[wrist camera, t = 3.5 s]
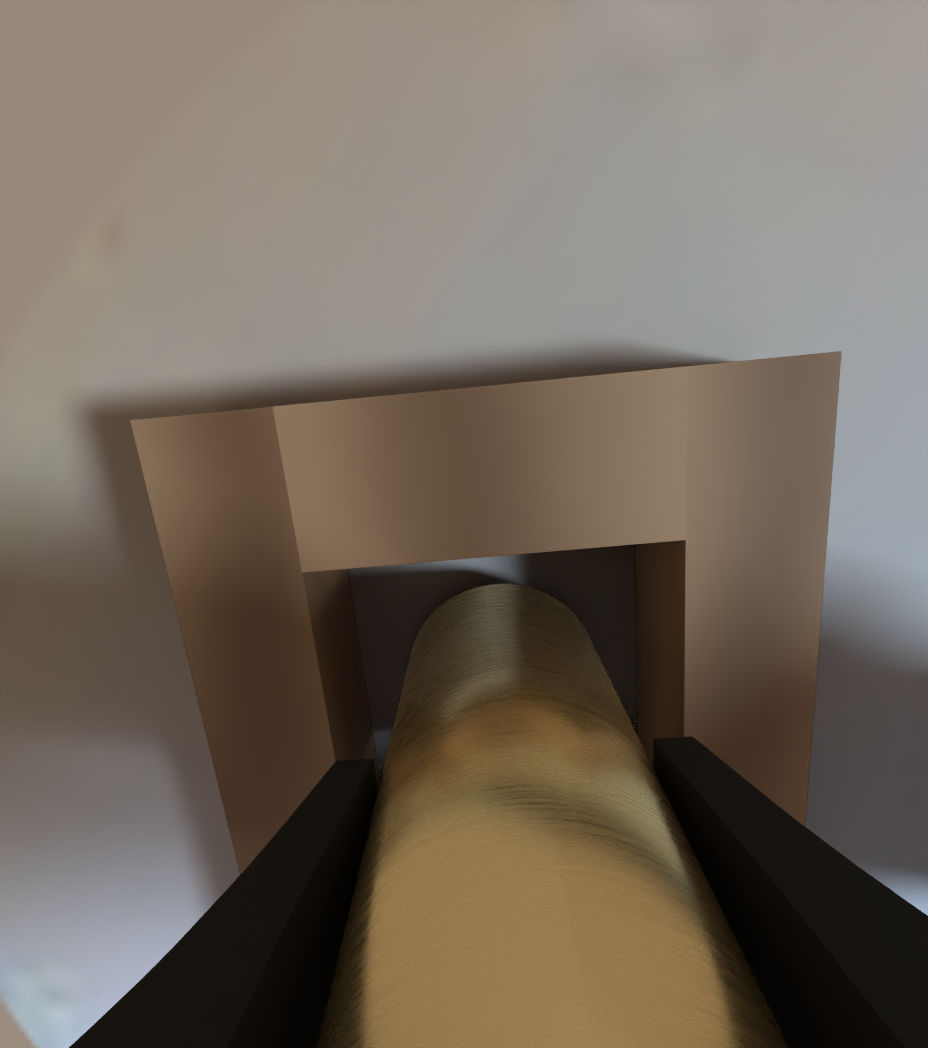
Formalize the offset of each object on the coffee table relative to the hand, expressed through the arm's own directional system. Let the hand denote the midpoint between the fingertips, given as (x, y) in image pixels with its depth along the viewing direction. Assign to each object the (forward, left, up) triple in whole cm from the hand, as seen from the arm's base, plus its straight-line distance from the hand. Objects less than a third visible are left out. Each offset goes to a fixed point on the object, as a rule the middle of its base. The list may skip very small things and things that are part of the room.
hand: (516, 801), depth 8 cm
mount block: (0, +6, -5) cm, 8 cm away
